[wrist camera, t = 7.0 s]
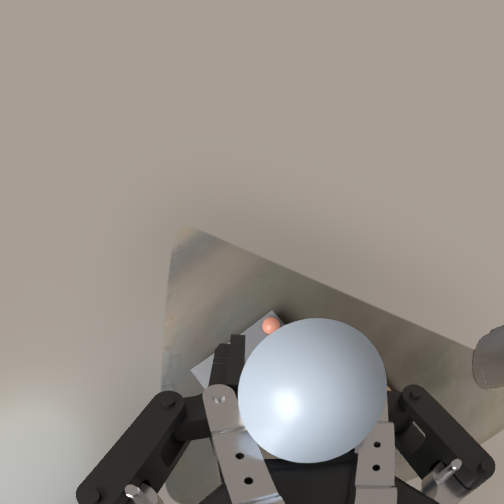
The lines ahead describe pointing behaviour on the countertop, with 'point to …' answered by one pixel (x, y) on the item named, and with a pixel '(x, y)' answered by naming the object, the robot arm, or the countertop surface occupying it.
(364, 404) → the ball
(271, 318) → the block
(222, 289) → the countertop surface
